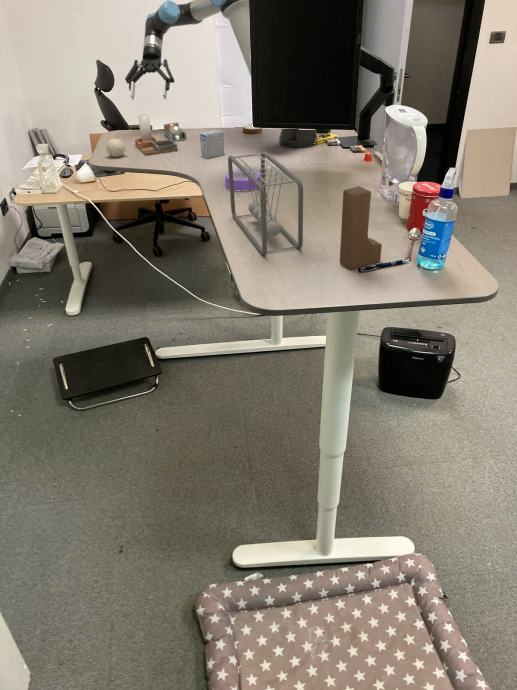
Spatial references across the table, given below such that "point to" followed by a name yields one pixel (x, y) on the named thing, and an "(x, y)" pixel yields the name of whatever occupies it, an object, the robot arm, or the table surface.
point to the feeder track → (170, 136)
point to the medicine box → (212, 144)
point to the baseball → (115, 147)
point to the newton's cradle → (260, 209)
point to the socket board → (156, 146)
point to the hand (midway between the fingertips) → (148, 97)
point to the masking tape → (241, 180)
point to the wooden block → (357, 230)
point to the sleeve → (145, 128)
